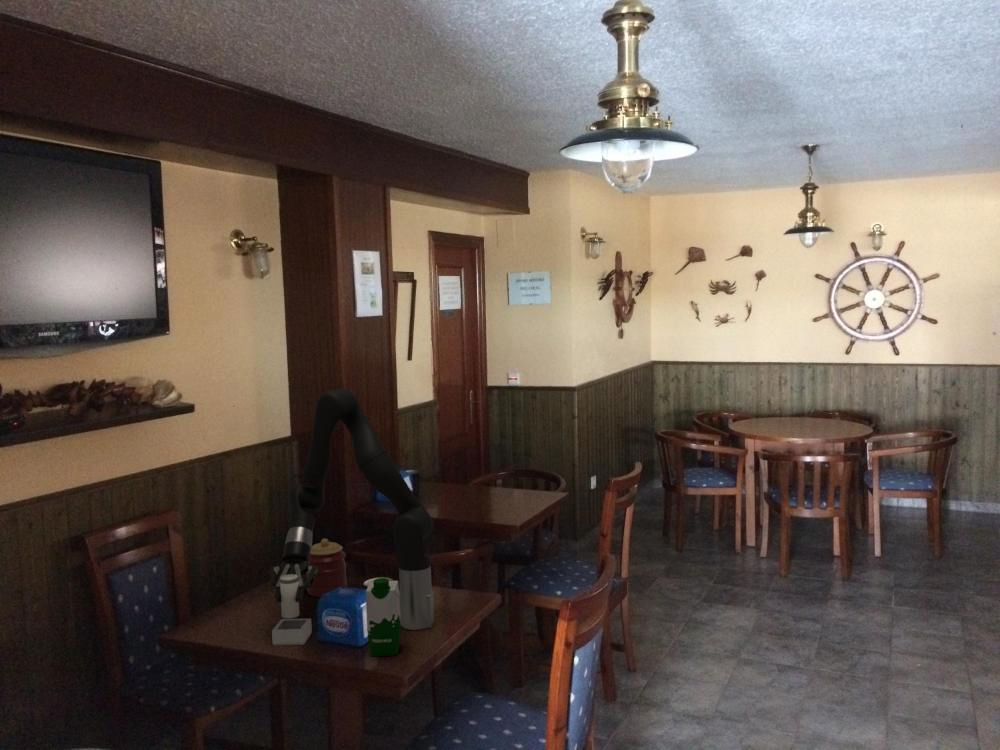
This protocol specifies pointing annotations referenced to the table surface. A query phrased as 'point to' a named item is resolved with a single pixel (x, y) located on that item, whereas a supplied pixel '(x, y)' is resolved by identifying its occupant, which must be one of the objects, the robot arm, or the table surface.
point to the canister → (327, 567)
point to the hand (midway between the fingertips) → (287, 601)
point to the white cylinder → (289, 596)
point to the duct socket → (291, 632)
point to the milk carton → (383, 617)
